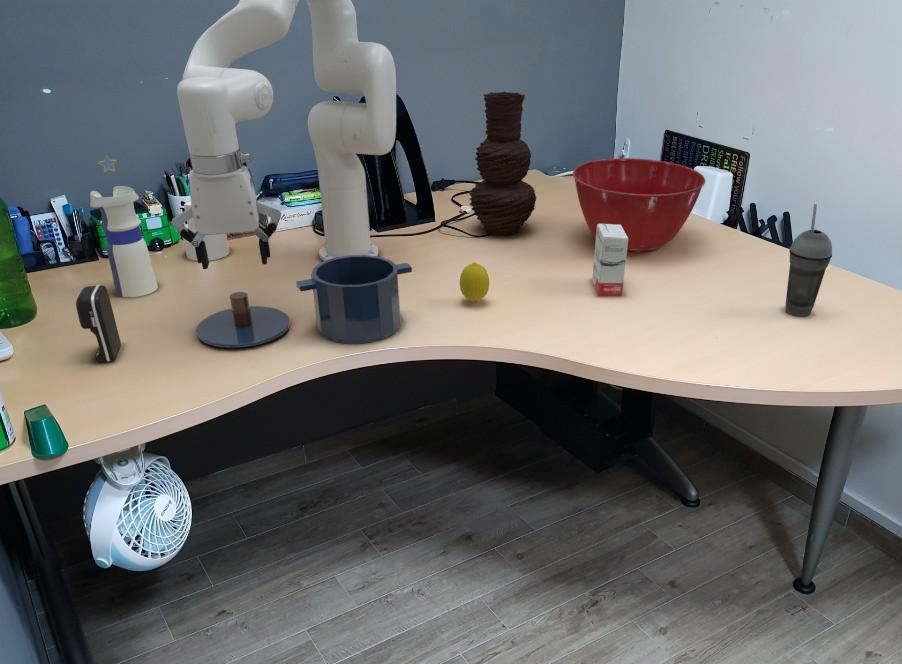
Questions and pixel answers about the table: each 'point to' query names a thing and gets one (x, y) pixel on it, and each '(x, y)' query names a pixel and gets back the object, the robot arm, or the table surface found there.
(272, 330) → the pot lid
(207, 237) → the cylinder with rectangular tab
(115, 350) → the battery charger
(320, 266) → the pot
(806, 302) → the beverage cup
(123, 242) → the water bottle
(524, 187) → the vase
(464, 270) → the lemon
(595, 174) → the mixing bowl
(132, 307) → the table surface
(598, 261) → the ink box
